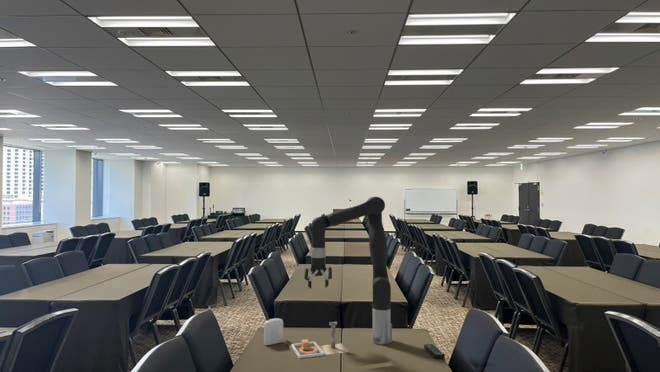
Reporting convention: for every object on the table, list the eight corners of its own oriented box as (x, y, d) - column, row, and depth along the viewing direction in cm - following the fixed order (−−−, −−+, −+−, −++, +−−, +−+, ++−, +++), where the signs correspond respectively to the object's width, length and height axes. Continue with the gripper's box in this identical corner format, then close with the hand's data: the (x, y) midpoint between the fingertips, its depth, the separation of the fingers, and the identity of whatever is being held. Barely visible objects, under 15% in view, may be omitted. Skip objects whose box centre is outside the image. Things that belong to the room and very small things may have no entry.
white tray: (314, 346, 206) (314, 341, 206) (324, 358, 190) (324, 353, 190) (291, 349, 202) (291, 344, 202) (298, 361, 187) (298, 356, 187)
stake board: (341, 346, 206) (341, 318, 207) (350, 355, 195) (350, 325, 195) (318, 348, 203) (318, 320, 203) (325, 357, 191) (325, 328, 192)
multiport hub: (432, 348, 205) (432, 343, 205) (445, 359, 191) (445, 354, 191) (423, 349, 204) (423, 344, 204) (436, 360, 190) (436, 355, 190)
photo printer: (280, 340, 215) (280, 316, 215) (284, 342, 211) (284, 318, 212) (262, 343, 209) (262, 319, 210) (265, 346, 206) (266, 321, 206)
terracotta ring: (312, 346, 204) (312, 338, 204) (319, 356, 192) (319, 347, 192) (295, 348, 201) (295, 340, 201) (301, 358, 189) (301, 349, 189)
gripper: (329, 254, 218) (329, 285, 218) (303, 255, 214) (303, 287, 214) (333, 256, 211) (333, 288, 211) (306, 257, 207) (306, 290, 206)
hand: (318, 287), depth 212 cm, fingers open, 8 cm apart
